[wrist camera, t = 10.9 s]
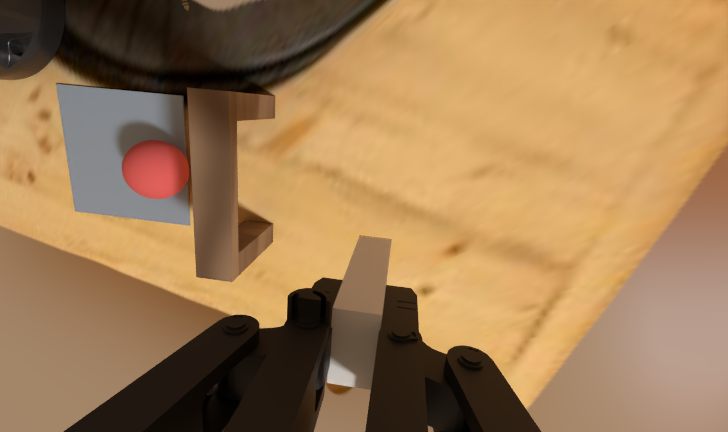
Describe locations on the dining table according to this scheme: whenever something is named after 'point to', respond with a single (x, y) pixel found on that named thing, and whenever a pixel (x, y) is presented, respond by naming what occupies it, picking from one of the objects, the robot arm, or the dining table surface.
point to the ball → (155, 169)
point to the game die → (185, 4)
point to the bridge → (222, 182)
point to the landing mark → (119, 148)
